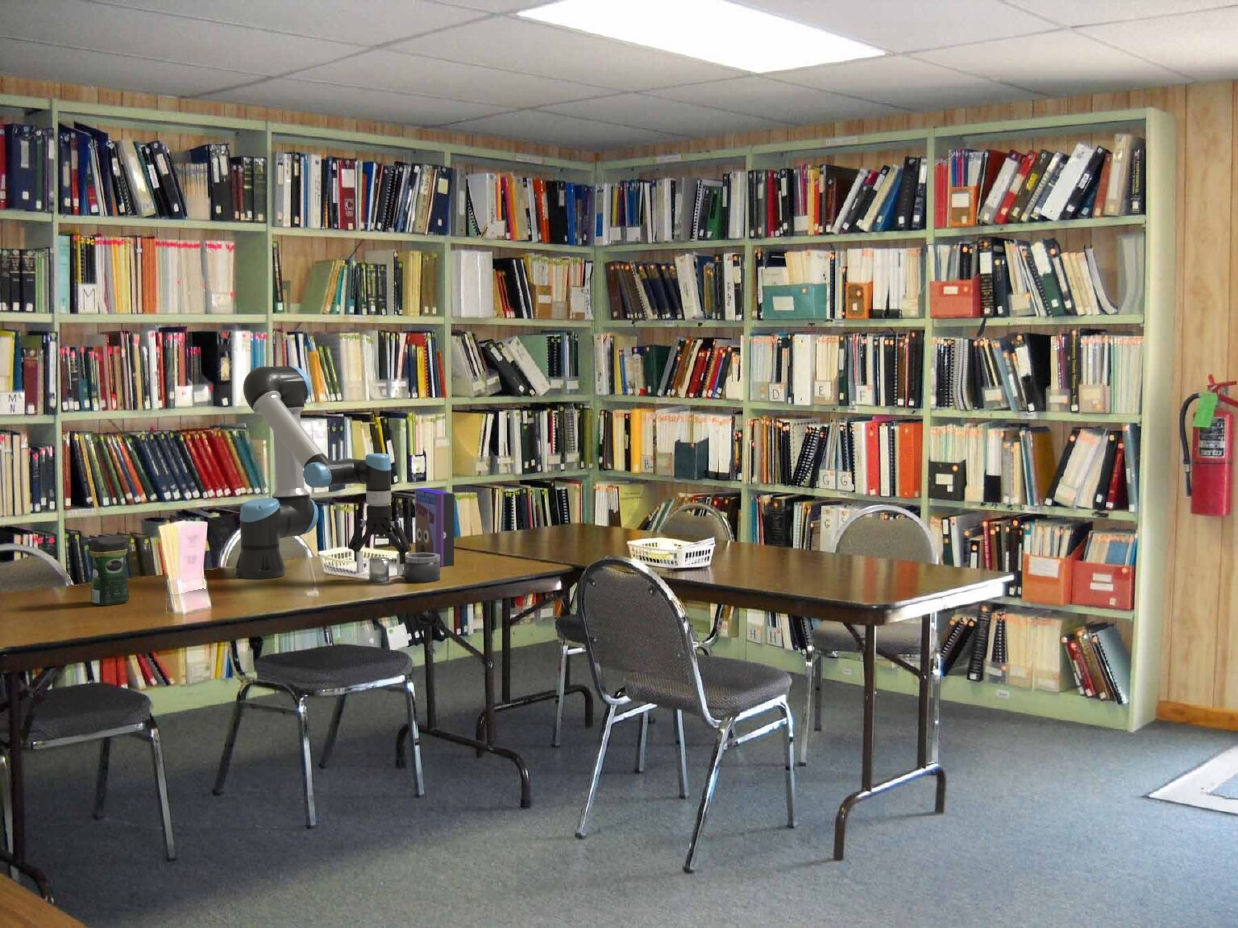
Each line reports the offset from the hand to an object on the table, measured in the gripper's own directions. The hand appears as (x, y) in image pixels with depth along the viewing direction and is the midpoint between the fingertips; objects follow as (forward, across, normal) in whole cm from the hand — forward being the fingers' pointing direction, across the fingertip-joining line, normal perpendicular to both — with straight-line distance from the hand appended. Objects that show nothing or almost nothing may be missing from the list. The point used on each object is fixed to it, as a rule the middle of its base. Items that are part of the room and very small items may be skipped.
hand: (379, 573), depth 407 cm
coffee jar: (+2, -53, -57) cm, 78 cm away
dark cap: (+3, +5, +13) cm, 14 cm away
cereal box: (+2, +1, +37) cm, 37 cm away
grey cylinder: (+2, 0, 0) cm, 2 cm away
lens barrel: (+2, +11, +7) cm, 13 cm away
